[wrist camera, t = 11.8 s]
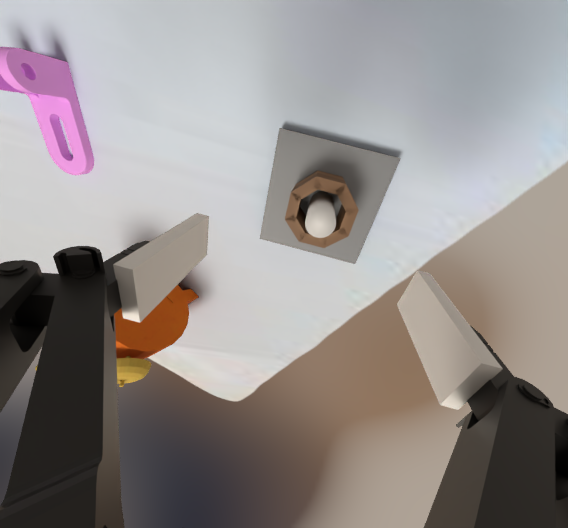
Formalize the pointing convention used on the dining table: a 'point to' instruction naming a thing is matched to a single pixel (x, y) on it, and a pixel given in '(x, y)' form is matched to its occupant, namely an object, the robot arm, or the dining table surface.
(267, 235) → the post
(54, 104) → the bracket
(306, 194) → the collar
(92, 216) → the dining table surface
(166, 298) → the alarm clock
